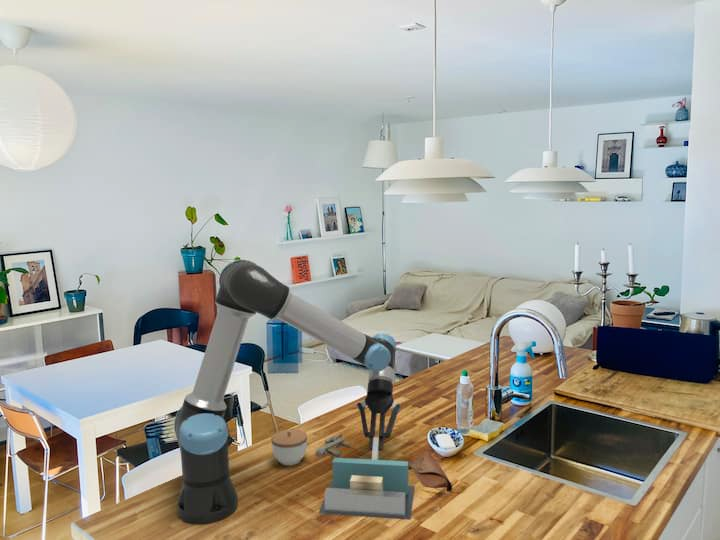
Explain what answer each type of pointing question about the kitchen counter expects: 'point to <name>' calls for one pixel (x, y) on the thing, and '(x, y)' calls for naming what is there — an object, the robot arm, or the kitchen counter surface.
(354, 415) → the kitchen counter surface
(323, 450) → the clamp
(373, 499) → the vise base
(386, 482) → the slide jaw
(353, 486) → the block
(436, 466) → the sunglasses case
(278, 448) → the lidded jar
